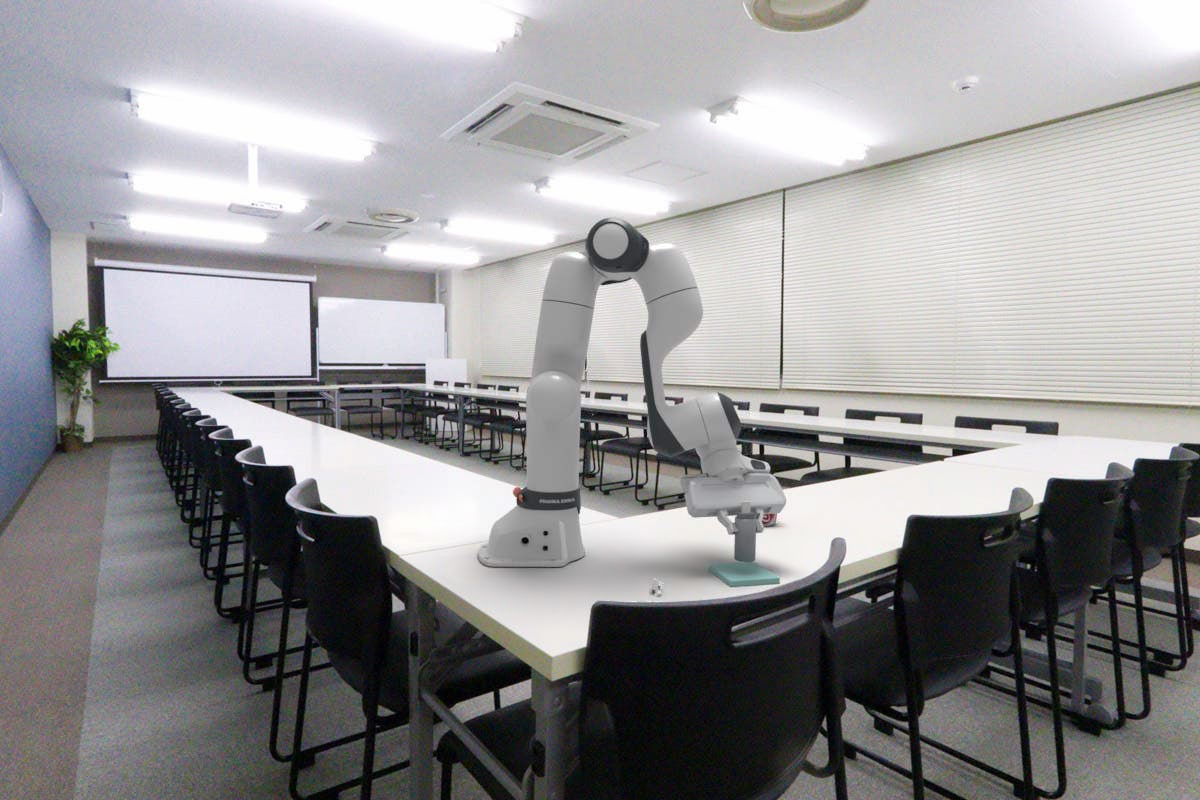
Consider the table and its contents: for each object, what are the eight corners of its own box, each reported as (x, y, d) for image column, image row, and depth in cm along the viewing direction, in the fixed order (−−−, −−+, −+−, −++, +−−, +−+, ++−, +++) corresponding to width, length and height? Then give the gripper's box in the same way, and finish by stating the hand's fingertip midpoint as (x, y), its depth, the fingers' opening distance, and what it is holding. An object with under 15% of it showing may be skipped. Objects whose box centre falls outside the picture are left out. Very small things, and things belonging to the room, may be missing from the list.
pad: (730, 586, 116) (730, 581, 116) (708, 569, 125) (708, 564, 125) (779, 583, 118) (779, 578, 118) (754, 566, 128) (754, 561, 128)
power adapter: (647, 594, 112) (647, 577, 112) (658, 592, 114) (658, 574, 113) (658, 600, 110) (659, 582, 109) (669, 597, 111) (670, 579, 111)
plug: (739, 562, 119) (741, 504, 118) (730, 556, 123) (731, 499, 122) (759, 561, 120) (760, 503, 119) (749, 555, 124) (750, 499, 123)
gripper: (682, 465, 125) (700, 526, 116) (775, 462, 130) (800, 521, 121) (674, 483, 129) (691, 543, 120) (764, 480, 134) (787, 537, 125)
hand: (746, 532), depth 121 cm, fingers closed on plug, 4 cm apart
